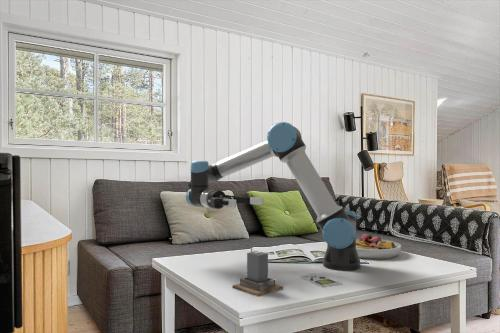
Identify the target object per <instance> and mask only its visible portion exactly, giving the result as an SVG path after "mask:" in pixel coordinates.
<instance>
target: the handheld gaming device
mask: <svg viewBox="0 0 500 333" xmlns="http://www.w3.org/2000/svg"><path fill="white" fill-rule="evenodd" d="M299 278H300V279H302V280H304V281H307V282H309V283H311V284H314V285H316V286H317V287H320V286H321V288H328V287H327V286H329V287H333V286H334V285H335V286H340V285H339V284H341V285H342V283H341V282H339V281H337V280H335V279H332V278H329V277H326V276H324V275H322V274H319V273H313V274H312V273H311V274H305V275H300V276H299Z"/></svg>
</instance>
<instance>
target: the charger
mask: <svg viewBox="0 0 500 333" xmlns="http://www.w3.org/2000/svg"><path fill="white" fill-rule="evenodd" d="M246 277H247V280H249V281H252V282H255V283H262V282H266V281H268V278H269V253H267V252H264V251H263V252H262V251H258V250H256V251H251V252H246Z"/></svg>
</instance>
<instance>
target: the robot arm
mask: <svg viewBox="0 0 500 333" xmlns="http://www.w3.org/2000/svg"><path fill="white" fill-rule="evenodd" d="M302 138H303V137H302V133H301V132H300V130H299V128H297V127H296V126H294V125H292V123H290V122H286V121H282V122H277V123H274V124H273V125H272V126H271V127H270V128H269V130H268V131H267V135H266V140H264V141H262V142H259V143H258V144H255V145H253V146H251V147H247V148H246V149H244V150H242V151H239V152H237V153H235V154H232V155H229V156H228V157H225V158H222V159H221V160H218V161H216V162H213V163H212V164H209V161H207V160H193V161H191V163H190V189H189V190H187V192H186V194H185V201H186V202H187V204H189V206H194V207H198V208H200V207H201V208H207V209H208V210H211V209H215V210H220V209H222V208H224V207H226V208H227V207H228V208H233V209H234V208H237V204H249V205H258V206H264V197H255V196H254V195H253V194H251V195H250V196H241V195H240V196H238V195H230V194H226V193H225V192H224V191H222V190H220V189H209V183H216V182H218V181H219V180H221V179H223V178H225V177H227V176H230V175H232V174H235V173H237V172H240V171H241V170H244V169H246V168H249V167H251V166H253V165H257V164H258V163H261V162H263V161H265V160H268V159H270V158H272V157H276V158H278V159H279V161H280V162H281V163H286V165H287V167H288V169H289V171H290V172H291V174H292V175H293V177H294V179H295V180H296V182H297V184H298V185H299V187H300V189H301V190H302V192H303V194H304V195H305V198H306V199H307V201H308V203H309V204H310V205H311V207H312V210H314V213H315V214H316V217H317V218H316V221H315V222H316V224H317V225H318V228H319V229H320V231H321V233H322V237H323V240H324V242H325V243H326V244H327V245H326V246H327V247H326V250H325V253H324V256H323V259H322V265H323V267H325V268H327V269H330V270H334V271H335V270H337V271H354V270H355V271H356V270H358V269H361V260H360V259H361V258H359V256H358V253H357V250H356V238H357V218H358V217H357V213H356V212H355V211H353V210H345V209H344V207H343V206H342V205H338V204H337V203H336V201H335V199H334V198H333V196H332V195H331V193H330V192H329V190H328V188H327V186H326V185H325V183H324V181H323V180H322V178H321V177H320V174H319V173H318V171H317V170H316V168H315V166H314V165H313V162H311V159H310V158H309V157H308V154H307V153H306V148H307V146H306V144H305V143H304V140H303V139H302Z"/></svg>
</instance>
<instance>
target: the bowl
mask: <svg viewBox="0 0 500 333" xmlns="http://www.w3.org/2000/svg"><path fill="white" fill-rule="evenodd" d="M356 250H357V253H358V256H359V257H360V258H359V259H367V260H368V259H369V260H385V259H387V260H388V259H392V258H394V257H397V256H398V255H399V254H400V252H401V251H402V244H401V243H398V242H395V241H393V240H387V239H382V238H381V236H378V235H375V236H373V237H372V235H371V234H370V233H363V234H362V235H361V237H356Z"/></svg>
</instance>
